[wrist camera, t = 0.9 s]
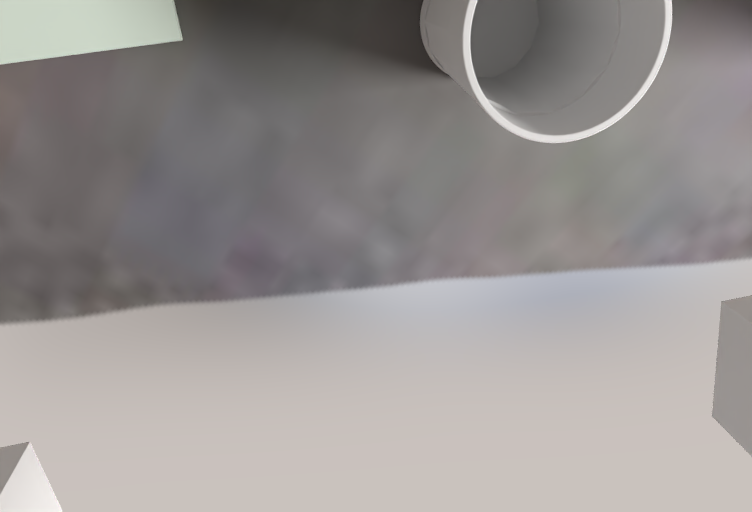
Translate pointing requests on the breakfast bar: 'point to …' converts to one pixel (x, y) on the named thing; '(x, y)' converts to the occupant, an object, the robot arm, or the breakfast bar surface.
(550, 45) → the cup
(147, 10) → the mat
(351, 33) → the breakfast bar surface
